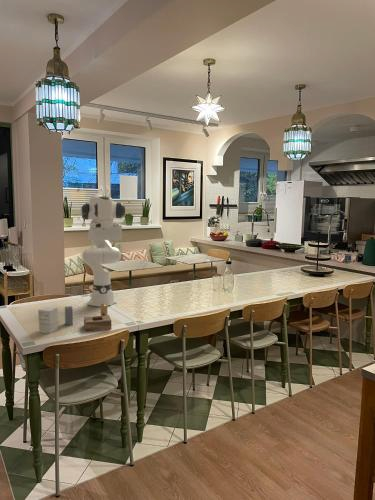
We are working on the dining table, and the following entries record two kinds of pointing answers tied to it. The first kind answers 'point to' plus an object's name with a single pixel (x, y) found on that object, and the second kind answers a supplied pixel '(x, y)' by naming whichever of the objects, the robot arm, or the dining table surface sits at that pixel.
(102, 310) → the round bit
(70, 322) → the square bit
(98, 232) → the robot arm
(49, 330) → the supplement box
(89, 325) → the socket block
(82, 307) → the dining table surface
